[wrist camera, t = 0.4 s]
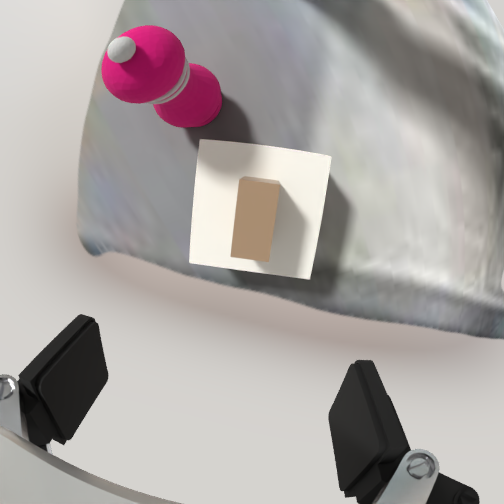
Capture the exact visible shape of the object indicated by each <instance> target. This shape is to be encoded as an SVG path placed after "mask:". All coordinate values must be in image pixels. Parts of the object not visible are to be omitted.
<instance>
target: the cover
mask: <svg viewBox="0 0 504 504" xmlns="http://www.w3.org/2000/svg"><path fill="white" fill-rule="evenodd" d="M331 157H332V156H327V155H322V154H317V153H311V152H305V151H299V150H293V149H286V148H280V147H273V146H265V145H257V144H249V143H240V142H230V141H218V140H206V139H200V143H199V151H198V160H197V169H196V179H195V189H194V201H193V213H192V226H191V241H190V258H189V263H194V264H201V265H208V266H215V267H222V268H229V269H236V270H243V271H250V272H257V273H264V274H272V275H279V276H287V277H295V278H302V279H310V276H311V271H312V266H313V261H314V256H315V251H316V246H317V241H318V236H319V230H320V225H321V219H322V214H323V208H324V202H325V196H326V190H327V184H328V177H329V171H330V164H331Z"/></svg>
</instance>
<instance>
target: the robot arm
mask: <svg viewBox="0 0 504 504" xmlns="http://www.w3.org/2000/svg"><path fill="white" fill-rule="evenodd" d="M19 378H20V379H19V380H18V381H16V379H15V378H14V377H12V376H10V375H0V504H181V503H177V502H173V501H169V500H165V499H161V498H158V497H154V496H150V495H147V494H144V493H141V492H138V491H134V490H132V489H129V488H125V487H123V486H120V485H117V484H114V483H112V482H109V481H107V480H105V479H102V478H100V477H97V476H95V475H93V474H90V473H88V472H86V471H84V470H82V469H79V468H77V467H75V466H73V465H71V464H69V463H67V462H65V461H63V460H61V459H59V458H58V457H56V456H53V455H52V451H51V447H50V441H51V440H52V439H53V440H55V441H57V442H59V443H61V444H63V445H64V444H65V443H66V441H67V440H70V439H71V438H72V437H73V435H74V433H75V432H76V430H77V429H78V427H79V425H80V424H81V422H82V420H83V419H84V417H85V416H86V414H87V412H88V411H89V409H90V408H91V406H92V404H93V403H94V401H95V400H96V398H97V396H98V395H99V393H100V392H101V390H102V389H103V387H104V386H105V384H106V382H107V380H108V371H107V366H106V362H105V357H104V352H103V347H102V342H101V337H100V331H99V326H98V323H96V322H95V319H94V318H92V317H89V316H85V315H82V314H80V315H78V316H77V317H76V318H75V319H74V320H73V321H72V322H71V323H70V324H69V325H68V326H67V327H66V328H65V329H64V330H63V331H61V332H60V333H59V334H58V336H56V337H55V338H54V339H53V340H52V341H51V342H50V343H49V344H48V345H47V346H46V347H45V348H44V349H43V350H42V351H41V352H40V353H39V354H38V355H37V356H36V357H35V358H34V360H33V361H32V362H31V363H30V364H29V365H28V366H27V367H26V368H25V369H24V370H23V371H22V372H21V373H20V374H19ZM329 424H330V431H331V436H332V442H333V449H334V454H335V461H336V468H337V474H338V481H339V488H340V490H341V491H344V494H345V497H355V496H356V498H357V502H358V504H479V496H478V494H477V492H476V491H475V490H474V489H473V488H471V487H469V486H467V485H465V484H462V483H460V482H458V481H455V480H454V479H451V478H449V477H447V476H445V475H443V474H441V473H439V463H438V461H437V459H436V457H435V456H434V455H433V454H432V453H430V452H429V451H427V450H423V449H415V450H411V449H410V447H409V444H408V441H407V439H406V436H405V433H404V431H403V428H402V426H401V423H400V421H399V418H398V415H397V413H396V410H395V408H394V406H393V403H392V401H391V399H390V397H389V396H388V395H387V393H386V391H385V388H384V386H383V383H382V381H381V379H380V377H379V374H378V372H377V369H376V367H375V365H374V363H373V361H371V360H357V361H356V362H355V363H354V364H351V365H350V367H349V369H348V371H347V374H346V376H345V378H344V381H343V383H342V385H341V387H340V390H339V392H338V394H337V396H336V398H335V401H334V403H333V405H332V407H331V409H330V412H329Z"/></svg>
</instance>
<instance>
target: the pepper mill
mask: <svg viewBox="0 0 504 504" xmlns="http://www.w3.org/2000/svg"><path fill="white" fill-rule="evenodd" d="M102 78H103V81H104V84H105V86H106V88H107V89H108V90H109V91H110V92H111V93H112V94H113V95H114V96H115V97H117V98H118V99H120V100H122V101H125V102H129V103H139V104H140V103H149V104H153V105H154V108H155V110H156V112H157V114H158V115H159V116H160V117H161V118H162V119H163V120H164V121H166V122H167V123H169V124H171V125H173V126H176V127H184V128H186V127H200V126H204V125H206V124H208V123H209V122H211V121H212V120H213V119H214V118H215V117H216V116H217V115H218V113H219V111H220V109H221V106H222V96H221V89H220V85H219V82H218V80H217V78H216V77H215V76H214V75H213V74H212V73H211V72H210V71H209V70H208V69H206V68H205V67H202V66H200V65H197V64H192V63H188V61H187V59H186V57H185V52H184V48H183V46H182V44H181V42H180V40H179V39H178V38H177V37H176V36H175V35H174V34H173V33H172V32H170V31H169V30H167V29H164V28H162V27H158V26H147V25H146V26H140V27H136V28H133V29H131V30H129V31H127V32H125V33H123V34H122V35H120V36H119V37H118V38H116V39H115V40H113V41H112V42H111V43H110V45H109V47H108V50H107V51H106V53H105V56H104V59H103V62H102Z"/></svg>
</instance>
